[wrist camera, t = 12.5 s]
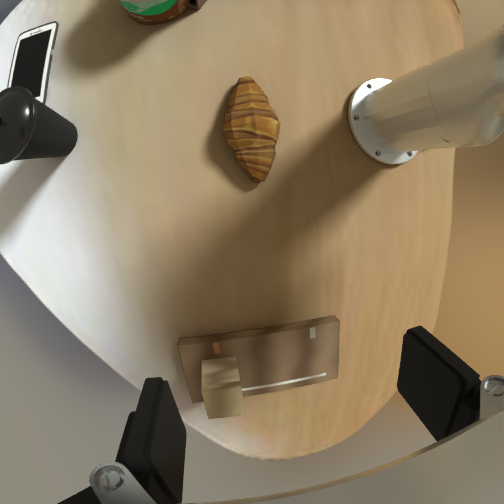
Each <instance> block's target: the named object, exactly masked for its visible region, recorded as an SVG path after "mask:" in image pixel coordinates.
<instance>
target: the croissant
mask: <svg viewBox="0 0 504 504" xmlns="http://www.w3.org/2000/svg"><path fill="white" fill-rule="evenodd" d="M228 108H229V109H228V110H227V112H226V114H225V117H224V125H223V131H224V134H225V137H226V139H227V142H228V144H229V145H230V147H231V148H232V149H233V150H234V153H235V158H236V160H237V161H238V163H239V164H240V165H241V167H242V168H243V169H244V171H245V172H246V174H247V175H248V176H249V177H250V179H251V180H252V181H253V182H257V183H260V182H262V181H265V179H266V177H267V175H268V173H269V171H270V168H271V166H272V163H273V160H274V157H275V154H276V153H275V145H276V143H277V140H278V136H279V129H280V122H279V120H278V118H277V116H276V114H275V111H274V110H273V109H272V108H271V107H270V105H269V103H268V98H267V96H266V95H265V94H264V92H263V91H262V90H261V88H260V87H259V86H258V85H257V83H256V82H255V81H254V80H253V79H252V78H251V77H246V76H245V77H242V78H240V79H239V80H238V82H237V84H236V86H235V88H234V90H233V92H232V94H231V96H230V98H229V101H228Z"/></svg>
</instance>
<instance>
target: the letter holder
mask: <svg viewBox="0 0 504 504" xmlns="http://www.w3.org/2000/svg"><path fill="white" fill-rule="evenodd" d="M206 1H207V0H189V7H190V8H193V9H195V10H199V9H200V8H201V7H202V6H203V5H204V3H205V2H206Z"/></svg>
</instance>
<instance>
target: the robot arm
mask: <svg viewBox="0 0 504 504" xmlns="http://www.w3.org/2000/svg"><path fill="white" fill-rule="evenodd" d="M348 118H349V124H350V128H351V131H352V133H353V135H354V138H355V139H356V141H357V143H358V144H359V146H360V147H361V148H362V149H363V150H364V152H365V153H367V154H368V155H369V156H370V157H372V158H373V159H375V160H377V161H379V162H382V163H385V164H401V163H405V162H407V161H409V160H410V159H412V158H413V157H414V156H415V155H416V154H417V152H418V151H419V150H429V149H441V148H453V147H467V146H481V145H486V144H488V143H491V142H492V141H494V140H495V139H496V138H498V137H499V135H500V134H501V133H502V132H503V130H504V25H503V26H501V27H500V28H498V29H497V30H495V31H494V32H492V33H491V34H489V35H488V36H486V37H485V38H483V39H481V40H480V41H478V42H476V43H474V44H472V45H470V46H468V47H466V48H464V49H462V50H460V51H458V52H455V53H453V54H451V55H449V56H446V57H444V58H442V59H439V60H437V61H435V62H433V63H430V64H428V65H426V66H423V67H421V68H419V69H417V70H415V71H412V72H410V73H408V74H406V75H404V76H402V77H399V78H397V79H395V80H393V81H391V80H388V79H384V78H376V79H371V80H368V81H366V82H364V83H363V84H361V85H360V86H359V87H358V88H357V89H356V90H355V91H354V93H353V95H352V96H351V99H350V102H349V108H348ZM354 118H355V120H354ZM479 376H480V375H479V374H478V373H476V372H475V371H474V370H473V369H472V368H471V367H469V366H468V365H467V364H466V363H465V362H464V361H463V360H461V359H460V358H459V357H458V356H457V355H456V354H454V353H453V352H452V351H451V350H450V349H449V348H447V347H446V346H445V345H444V344H443V343H441V342H440V341H439V340H438V339H437V338H435V337H434V336H433V335H432V334H431V333H429V332H428V331H427V330H426V329H424V328H423V327H422V326H417V327H414V328H411V329H408V330H407V332H406V334H404V337H403V345H402V353H401V361H400V368H399V375H398V382H397V388H398V391H399V393H400V394H401V395H402V396H403V398H404V399H405V400H406V402H407V403H408V404H409V406H410V407H411V408H412V409H413V411H414V412H415V413H416V414H417V416H418V417H419V419H420V420H421V421H422V422H423V424H424V425H425V426H426V428H427V429H428V430H429V432H430V433H431V434H432V436H433V437H434V438H435V439H436V441H438V442H436V443H434V444H432V445H430V446H427V447H425V448H423V449H421V450H419V451H416V452H414V453H412V454H409V455H407V456H404V457H402V458H400V459H398V460H395V461H392V462H389V463H387V464H384V465H382V466H379V467H376V468H373V469H370V470H367V471H364V472H361V473H358V474H355V475H352V476H349V477H345V478H342V479H339V480H335V481H332V482H328V483H324V484H320V485H316V486H312V487H308V488H303V489H299V490H294V491H289V492H284V493H278V494H273V495H266V496H260V497H253V498H245V499H236V500H228V501H217V502H205V503H188V504H504V377H503V376H499V375H491V376H488V377H486V378H485V379H483V380H482V381H481V380H480V379H479ZM185 448H186V429H185V426H184V424H183V421H182V419H181V416H180V414H179V411H178V408H177V406H176V403H175V400H174V398H173V395H172V392H171V390H170V387H169V384H168V382H167V381H166V380H164V381H163V379H162V378H161V377H155V378H146V380H145V383H144V386H143V389H142V392H141V396H140V399H139V402H138V405H137V409H136V411H134V412H131V413H130V414H129V417H128V420H127V423H126V426H125V429H124V433H123V436H122V439H121V443H120V446H119V450H118V453H117V457H116V460H115V462H106V463H103V464H100V465H99V466H97V467H96V468H95V469H94V470H93V471H92V472H91V474H90V477H89V482H90V485H91V486H89V487H88V488H86V489H84V490H82V491H80V492H79V493H77V494H75V495H73V496H71V497H69V498H67V499H65V500H64V501H62V502H60V503H58V504H181V502H182V491H183V475H184V461H185Z"/></svg>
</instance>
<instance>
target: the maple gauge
mask: <svg viewBox="0 0 504 504" xmlns="http://www.w3.org/2000/svg"><path fill="white" fill-rule="evenodd" d="M202 396H203V400H204V404H205V407H206V411H207V415H208V419H214V418H223V417H231V416H238V415H245V408H244V401H243V395H242V389H241V383H240V377H239V372H238V366H237V360H236V356H233V357H226V358H218V359H210V360H202Z"/></svg>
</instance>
